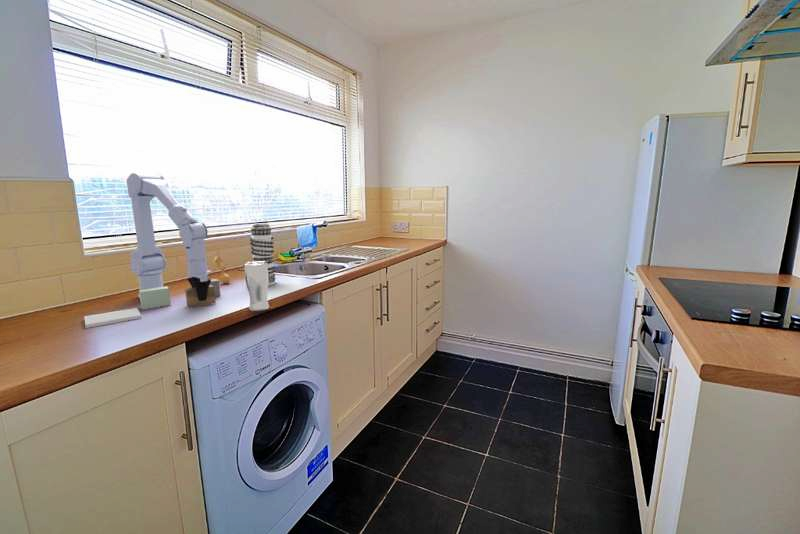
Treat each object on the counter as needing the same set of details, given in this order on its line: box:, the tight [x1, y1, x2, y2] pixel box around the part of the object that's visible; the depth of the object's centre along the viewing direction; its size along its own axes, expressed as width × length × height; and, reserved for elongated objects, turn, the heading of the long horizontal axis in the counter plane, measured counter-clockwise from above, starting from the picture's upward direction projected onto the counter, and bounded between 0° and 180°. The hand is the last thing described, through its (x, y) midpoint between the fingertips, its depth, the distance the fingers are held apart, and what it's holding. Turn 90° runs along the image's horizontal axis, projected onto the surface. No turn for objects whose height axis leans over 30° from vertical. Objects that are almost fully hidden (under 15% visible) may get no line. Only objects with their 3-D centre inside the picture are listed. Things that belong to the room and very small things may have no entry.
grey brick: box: [210, 278, 221, 298], centre depth 136 cm, size 4×8×6 cm, turn 131°
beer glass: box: [244, 261, 270, 312], centre depth 121 cm, size 7×7×15 cm
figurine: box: [212, 254, 232, 285], centre depth 157 cm, size 8×6×12 cm
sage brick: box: [138, 285, 172, 310], centre depth 125 cm, size 4×8×6 cm, turn 131°
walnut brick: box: [184, 285, 217, 309], centre depth 127 cm, size 4×8×6 cm, turn 131°
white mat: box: [84, 307, 142, 329], centre depth 113 cm, size 10×13×1 cm
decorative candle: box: [249, 222, 276, 286], centre depth 155 cm, size 9×9×25 cm
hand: (200, 298), depth 127 cm, fingers open, 4 cm apart
